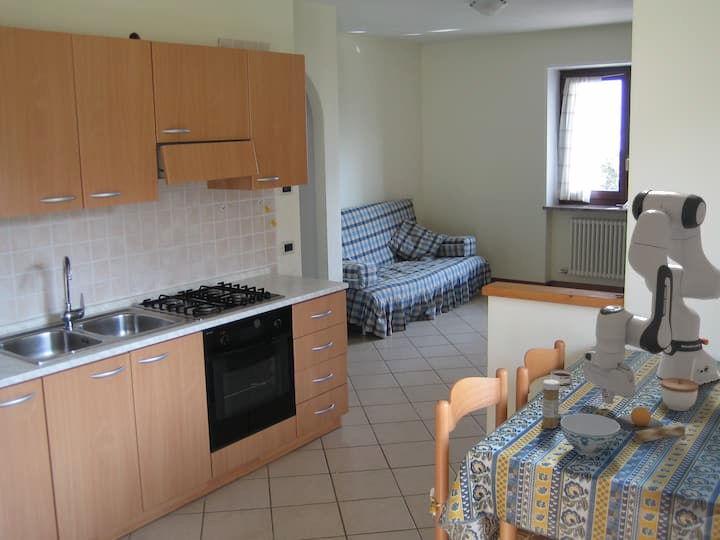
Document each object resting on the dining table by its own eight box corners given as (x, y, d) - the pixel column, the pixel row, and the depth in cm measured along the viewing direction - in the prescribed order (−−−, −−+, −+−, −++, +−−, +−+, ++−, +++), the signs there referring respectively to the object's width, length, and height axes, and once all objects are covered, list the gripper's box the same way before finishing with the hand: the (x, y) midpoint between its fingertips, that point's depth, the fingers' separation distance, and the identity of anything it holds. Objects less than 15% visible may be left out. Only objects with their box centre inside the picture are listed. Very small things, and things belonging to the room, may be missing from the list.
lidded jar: (700, 414, 230) (702, 384, 229) (662, 412, 232) (664, 382, 231) (692, 402, 241) (694, 373, 239) (656, 400, 243) (658, 371, 241)
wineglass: (575, 410, 234) (577, 372, 232) (564, 416, 229) (566, 378, 227) (555, 405, 239) (557, 368, 237) (544, 411, 234) (545, 373, 232)
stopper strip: (679, 431, 217) (680, 423, 217) (684, 434, 215) (685, 425, 215) (633, 440, 212) (634, 431, 211) (638, 442, 210) (639, 434, 209)
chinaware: (606, 439, 212) (608, 413, 211) (627, 462, 197) (628, 434, 196) (552, 441, 212) (553, 414, 210) (569, 464, 197) (570, 435, 196)
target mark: (641, 412, 232) (641, 412, 232) (673, 427, 220) (673, 427, 220) (605, 418, 228) (605, 418, 227) (636, 434, 216) (636, 433, 216)
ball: (639, 419, 226) (642, 402, 224) (653, 428, 221) (656, 410, 219) (625, 422, 224) (627, 405, 222) (638, 431, 219) (641, 414, 217)
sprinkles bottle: (550, 422, 225) (552, 377, 223) (561, 427, 221) (563, 382, 219) (538, 424, 223) (539, 380, 221) (548, 430, 219) (550, 384, 217)
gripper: (641, 367, 226) (639, 412, 228) (596, 349, 244) (594, 391, 247) (624, 369, 223) (621, 415, 226) (580, 351, 242) (578, 394, 245)
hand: (607, 402), depth 236 cm, fingers closed
